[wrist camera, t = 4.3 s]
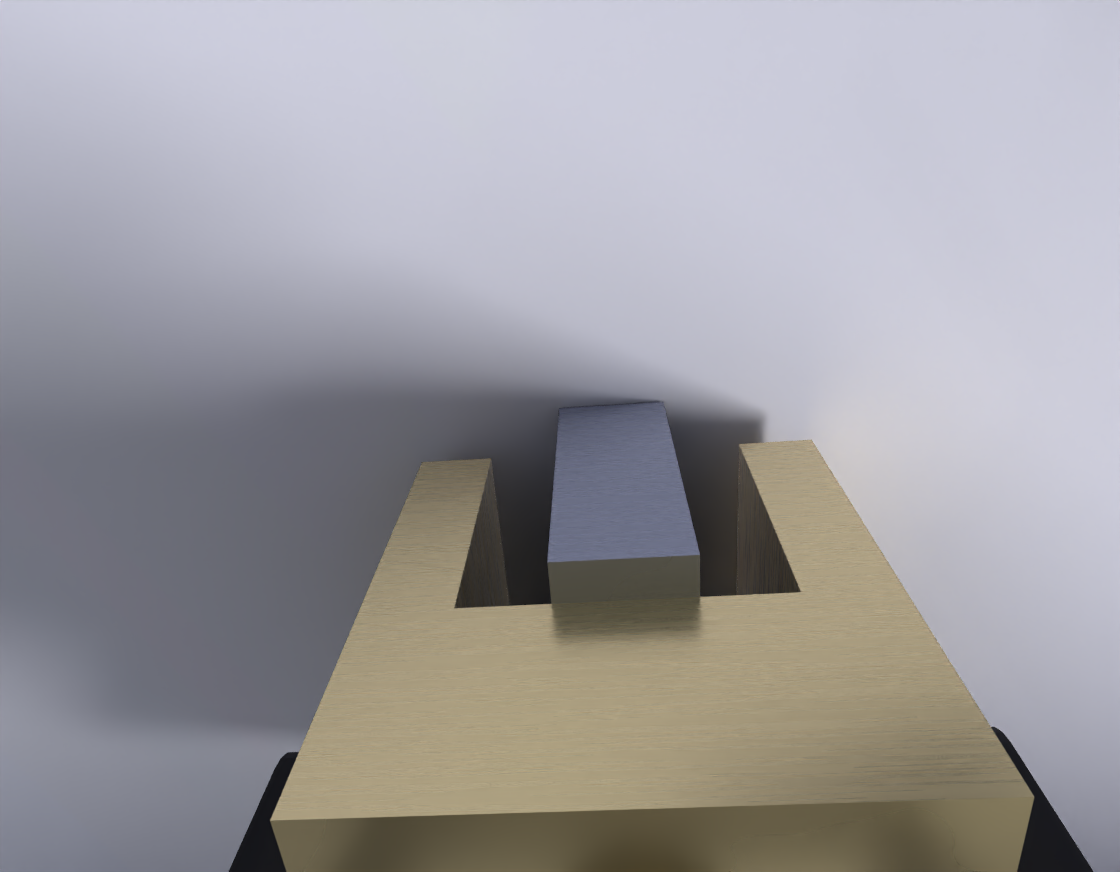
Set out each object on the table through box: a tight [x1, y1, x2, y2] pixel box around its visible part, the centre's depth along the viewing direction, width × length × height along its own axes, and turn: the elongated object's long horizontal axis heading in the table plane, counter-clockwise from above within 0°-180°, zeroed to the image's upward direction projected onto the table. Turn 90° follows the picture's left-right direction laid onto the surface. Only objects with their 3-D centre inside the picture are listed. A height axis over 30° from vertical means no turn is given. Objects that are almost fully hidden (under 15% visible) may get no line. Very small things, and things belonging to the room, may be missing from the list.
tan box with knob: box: [270, 440, 1034, 872], centre depth 9 cm, size 6×6×7 cm
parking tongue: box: [547, 402, 700, 604], centre depth 11 cm, size 2×7×4 cm, turn 4°
